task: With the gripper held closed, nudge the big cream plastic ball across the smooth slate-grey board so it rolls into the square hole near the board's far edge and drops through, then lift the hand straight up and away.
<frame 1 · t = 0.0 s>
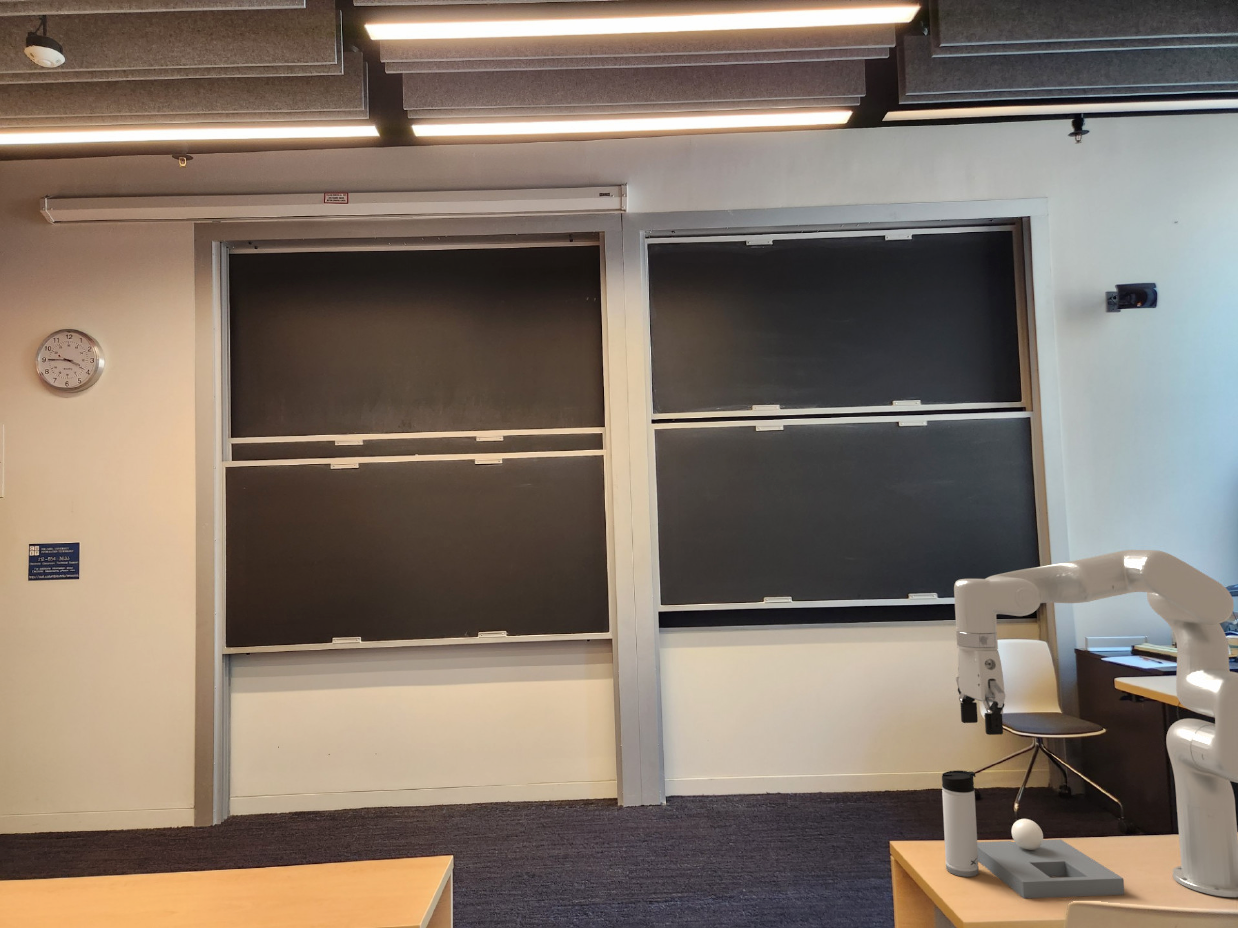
hand: (981, 728, 158), 31 cm above the table, tool pointing down, fingers open, 9 cm apart
travel mug: (963, 871, 165), on the table
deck: (1044, 874, 163), on the table
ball: (1027, 834, 169), point 6 cm above the table, touching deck
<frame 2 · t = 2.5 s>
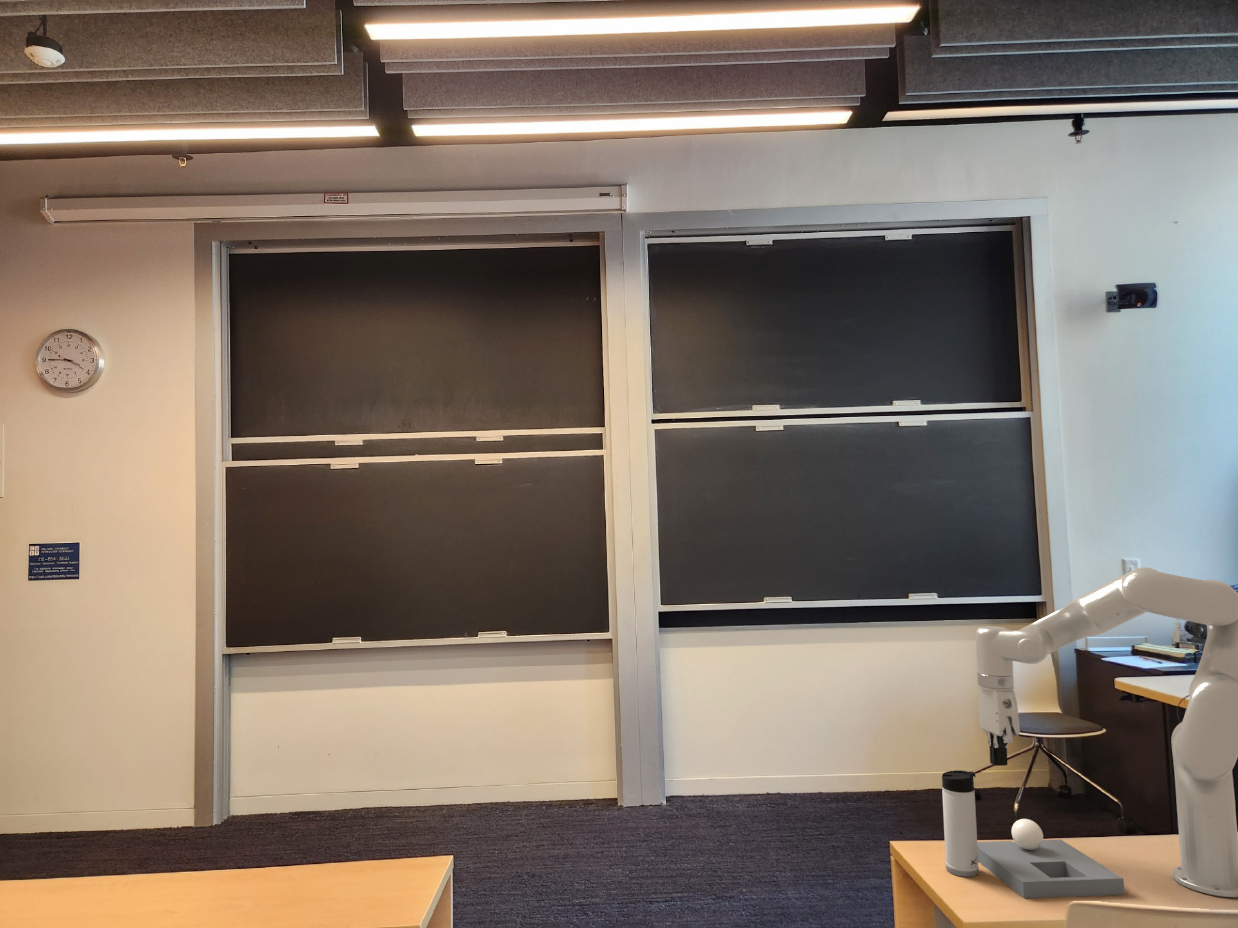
hand: (998, 764, 179), 18 cm above the table, tool pointing down, fingers closed
nothing on the table moved.
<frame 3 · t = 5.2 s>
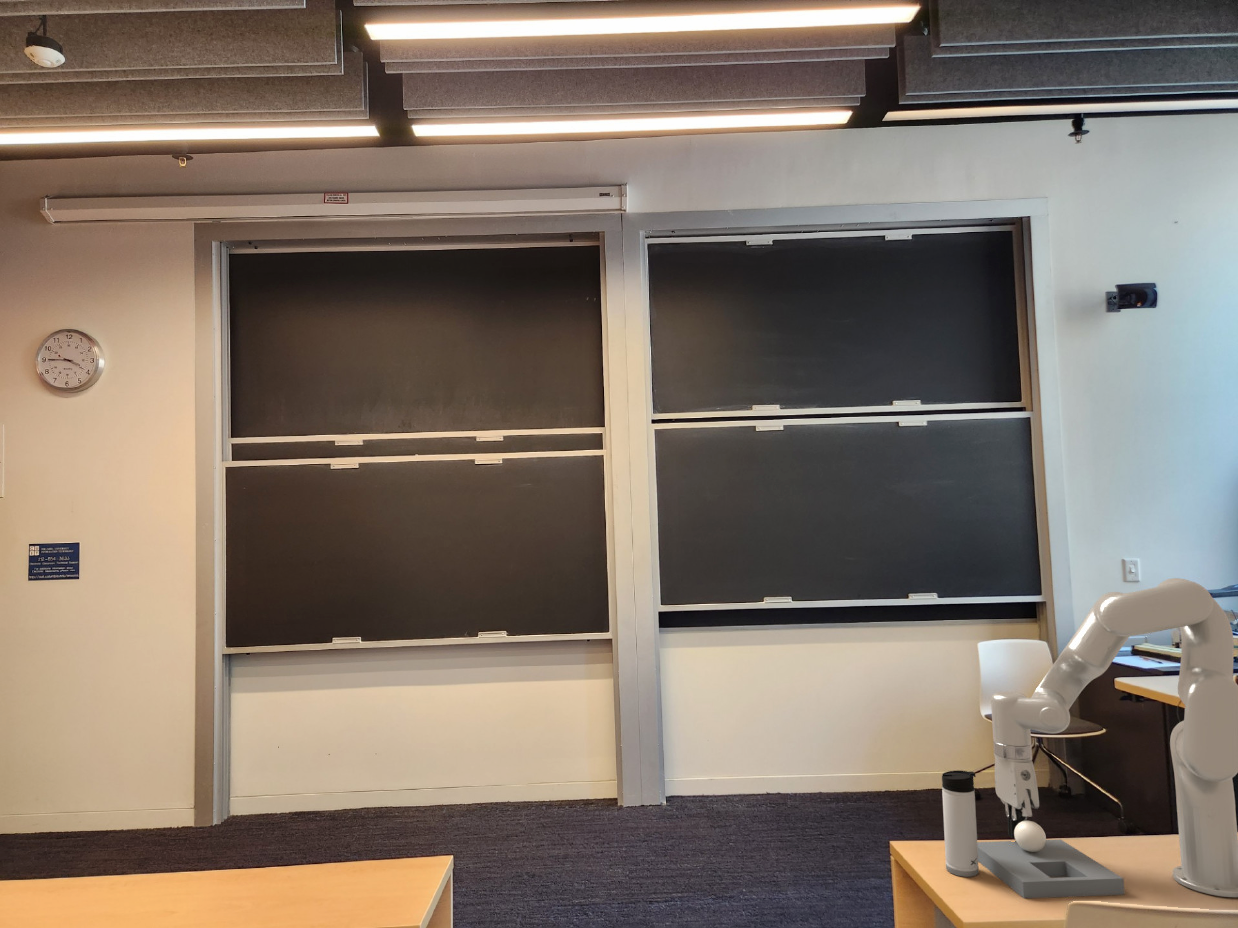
hand: (1017, 837, 172), 4 cm above the table, tool pointing down, fingers closed
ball: (1030, 835, 167), point 6 cm above the table, tilted 7°, touching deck
everything else where it was.
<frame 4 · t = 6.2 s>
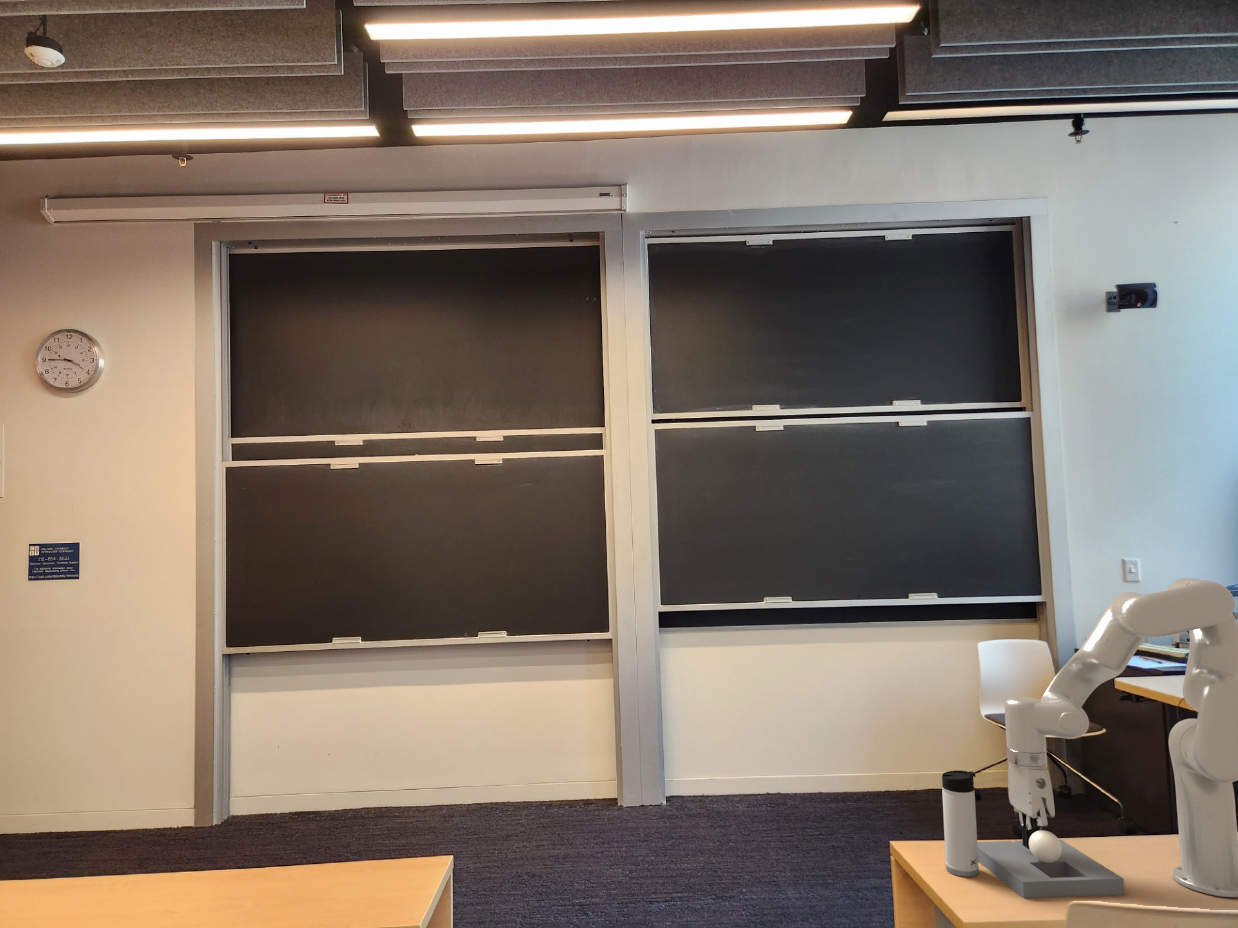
hand: (1032, 846, 167), 4 cm above the table, tool pointing down, fingers closed
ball: (1045, 846, 162), point 6 cm above the table, tilted 24°, touching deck
everything else where it was.
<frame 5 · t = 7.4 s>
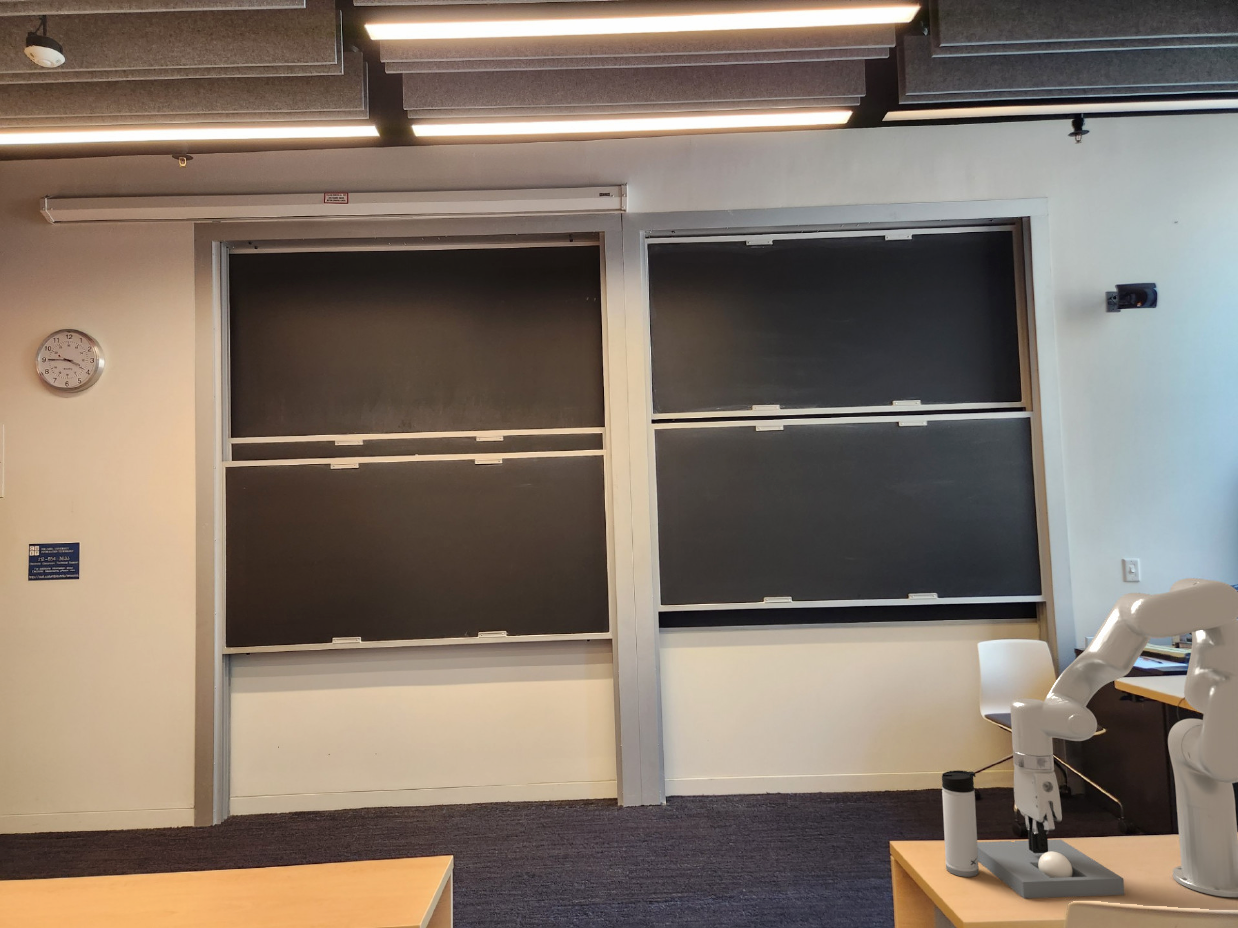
hand: (1038, 851, 164), 4 cm above the table, tool pointing down, fingers closed
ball: (1055, 867, 158), point 3 cm above the table, tilted 93°
everything else where it was.
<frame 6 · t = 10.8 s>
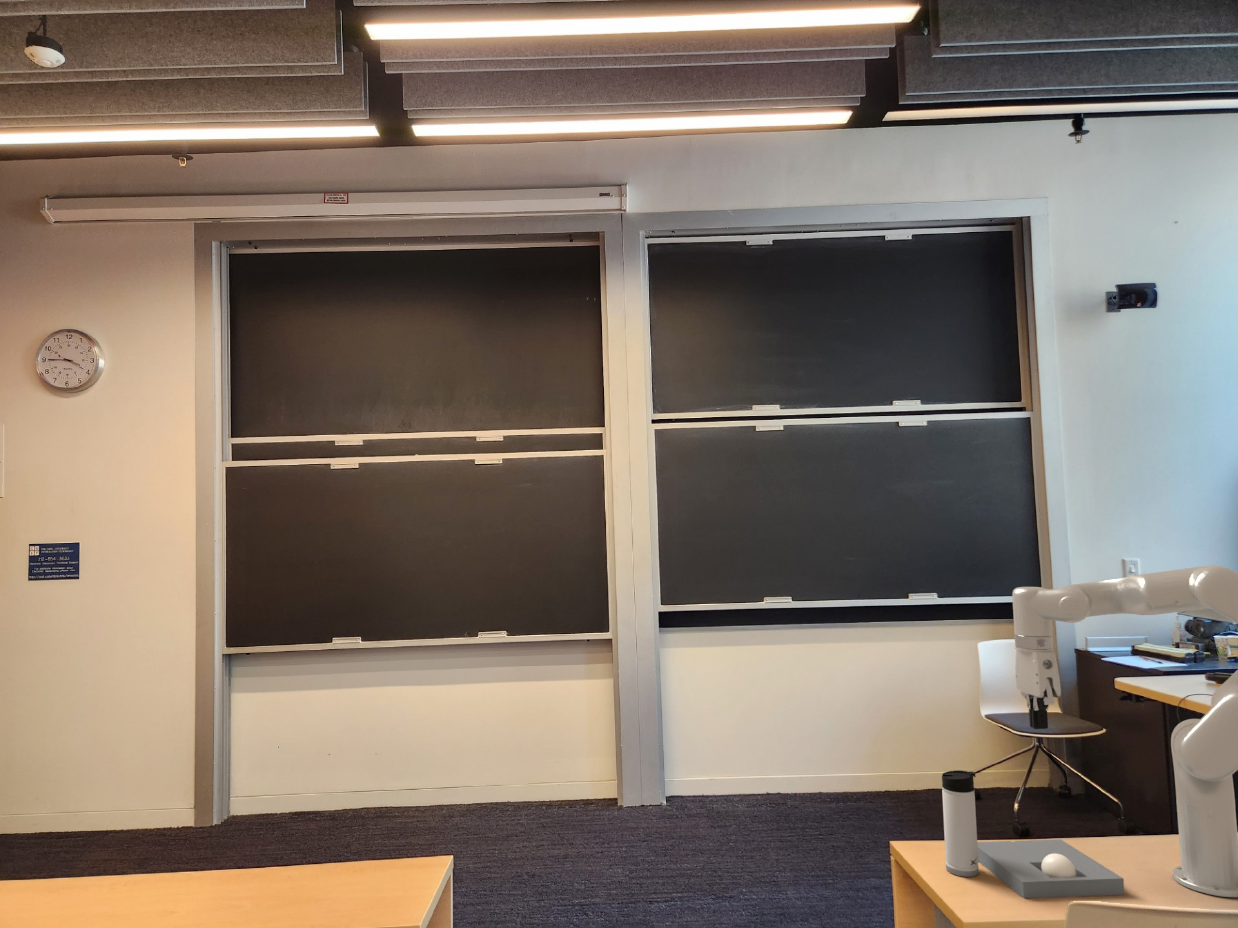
hand: (1038, 727, 174), 27 cm above the table, tool pointing down, fingers closed
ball: (1058, 870, 157), point 3 cm above the table, tilted 114°
everything else where it was.
at the end: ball 0.4 cm from the target spot on the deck, point 3.0 cm above the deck's base; travel mug moved 0.2 cm from its start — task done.
